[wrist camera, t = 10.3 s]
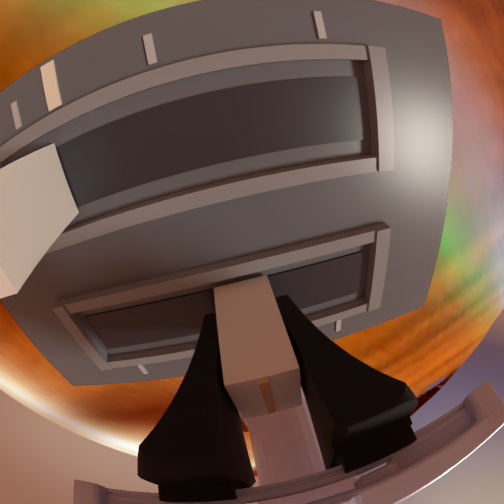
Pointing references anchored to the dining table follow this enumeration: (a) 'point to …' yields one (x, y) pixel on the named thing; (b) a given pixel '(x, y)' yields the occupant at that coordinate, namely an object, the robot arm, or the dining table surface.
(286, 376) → the fader
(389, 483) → the robot arm
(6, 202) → the fader
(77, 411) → the dining table surface
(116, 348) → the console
